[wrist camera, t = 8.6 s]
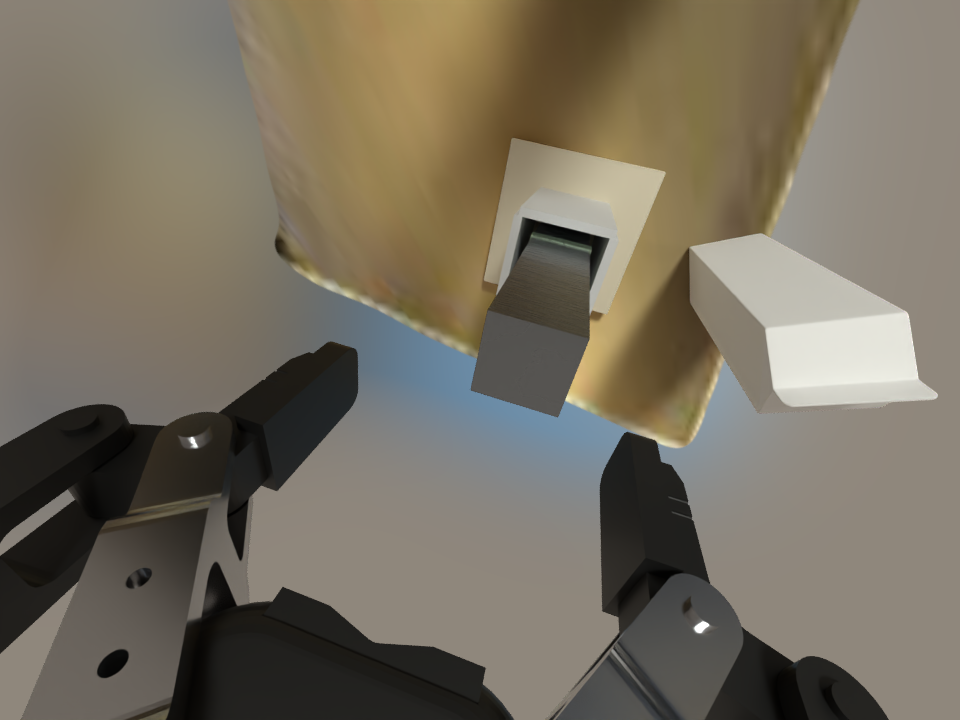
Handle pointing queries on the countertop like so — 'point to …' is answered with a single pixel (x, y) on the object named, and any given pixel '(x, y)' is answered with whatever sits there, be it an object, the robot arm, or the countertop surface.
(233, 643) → the robot arm
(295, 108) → the countertop surface
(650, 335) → the countertop surface
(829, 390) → the milk
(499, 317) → the steel post
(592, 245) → the sleeve stand
